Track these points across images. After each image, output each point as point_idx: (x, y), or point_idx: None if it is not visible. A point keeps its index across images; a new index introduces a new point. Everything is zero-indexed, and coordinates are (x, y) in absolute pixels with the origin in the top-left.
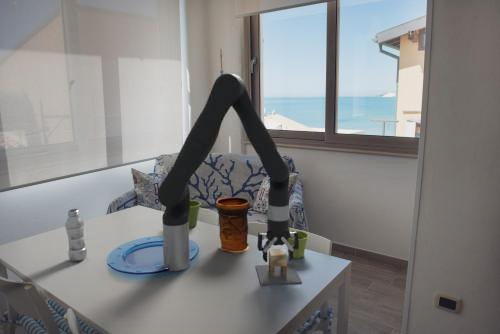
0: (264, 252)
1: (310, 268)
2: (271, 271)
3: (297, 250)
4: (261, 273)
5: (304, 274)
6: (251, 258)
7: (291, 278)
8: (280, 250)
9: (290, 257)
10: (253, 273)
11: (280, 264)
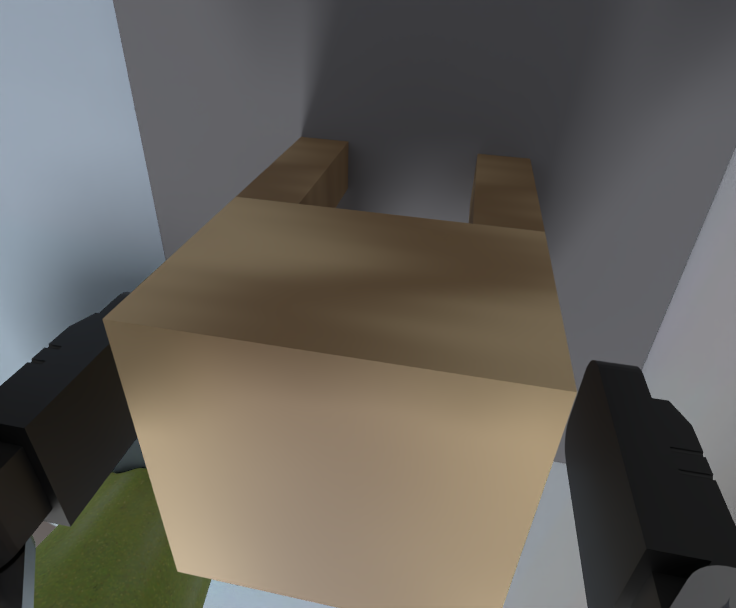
0: (720, 576)
1: (31, 286)
2: (529, 191)
3: (104, 536)
4: (620, 293)
5: (84, 175)
6: (568, 581)
7: (241, 64)
8: (251, 539)
9: (103, 329)
10: (704, 339)
11: (346, 225)
